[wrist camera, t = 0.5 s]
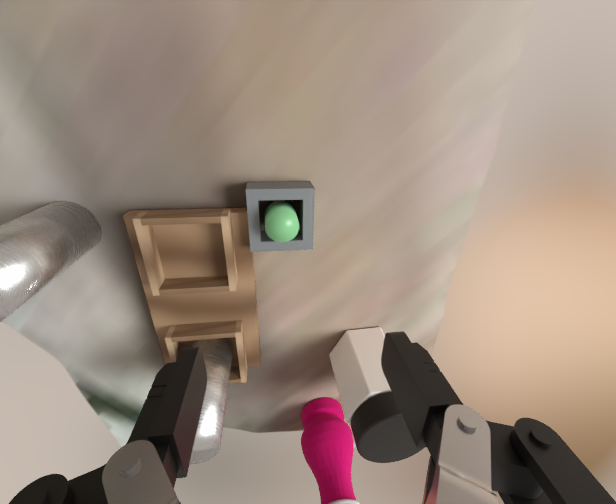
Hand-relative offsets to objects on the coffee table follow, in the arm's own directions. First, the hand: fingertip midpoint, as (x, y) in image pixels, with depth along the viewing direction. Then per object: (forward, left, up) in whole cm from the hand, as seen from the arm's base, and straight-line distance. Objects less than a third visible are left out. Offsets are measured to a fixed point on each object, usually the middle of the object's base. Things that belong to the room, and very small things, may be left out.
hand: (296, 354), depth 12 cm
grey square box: (0, 0, -19) cm, 19 cm away
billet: (+1, -19, -19) cm, 27 cm away
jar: (+20, +11, -19) cm, 29 cm away
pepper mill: (+32, +6, -19) cm, 37 cm away
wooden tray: (+9, -8, -19) cm, 22 cm away
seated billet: (+16, -8, -17) cm, 25 cm away
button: (0, 0, -17) cm, 17 cm away
